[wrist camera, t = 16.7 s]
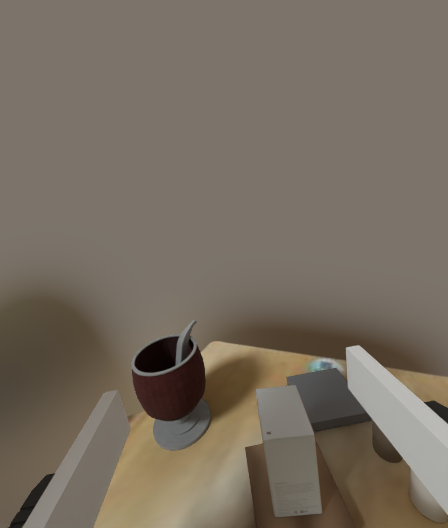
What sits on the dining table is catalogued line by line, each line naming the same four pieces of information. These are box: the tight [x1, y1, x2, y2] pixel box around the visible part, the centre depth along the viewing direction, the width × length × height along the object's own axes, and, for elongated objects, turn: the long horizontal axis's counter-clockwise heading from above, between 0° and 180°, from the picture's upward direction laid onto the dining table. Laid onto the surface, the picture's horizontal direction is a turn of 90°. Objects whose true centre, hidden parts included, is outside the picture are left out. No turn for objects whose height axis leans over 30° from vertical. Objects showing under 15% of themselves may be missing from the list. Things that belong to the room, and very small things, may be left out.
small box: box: [256, 385, 322, 517], centre depth 31 cm, size 8×6×13 cm
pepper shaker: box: [372, 419, 403, 463], centre depth 35 cm, size 4×4×8 cm
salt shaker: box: [409, 469, 448, 523], centre depth 29 cm, size 4×4×8 cm
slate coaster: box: [286, 368, 372, 431], centre depth 47 cm, size 12×12×2 cm
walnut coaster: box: [245, 440, 356, 528], centre depth 33 cm, size 12×12×2 cm
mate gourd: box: [131, 320, 211, 451], centre depth 46 cm, size 16×14×20 cm
